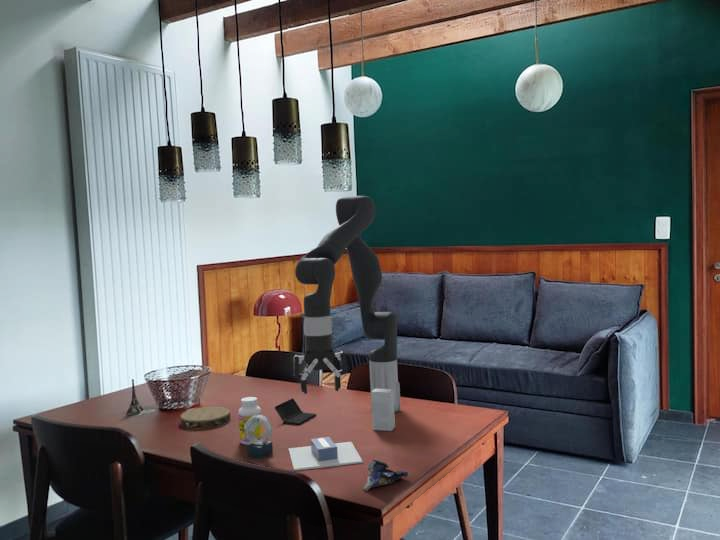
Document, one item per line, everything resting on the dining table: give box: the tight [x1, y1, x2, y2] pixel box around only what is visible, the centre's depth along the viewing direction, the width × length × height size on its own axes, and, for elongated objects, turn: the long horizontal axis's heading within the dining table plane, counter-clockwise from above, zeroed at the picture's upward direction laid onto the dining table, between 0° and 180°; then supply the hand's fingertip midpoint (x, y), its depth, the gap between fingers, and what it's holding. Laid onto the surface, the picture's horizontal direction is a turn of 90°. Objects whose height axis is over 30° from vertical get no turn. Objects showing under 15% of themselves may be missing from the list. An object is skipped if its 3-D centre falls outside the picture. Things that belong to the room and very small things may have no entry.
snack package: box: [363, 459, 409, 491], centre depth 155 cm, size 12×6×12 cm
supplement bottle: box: [237, 396, 263, 446], centre depth 189 cm, size 7×7×13 cm
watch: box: [244, 414, 274, 460], centre depth 177 cm, size 6×8×11 cm
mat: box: [287, 441, 363, 472], centre depth 174 cm, size 18×16×1 cm
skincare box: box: [370, 388, 396, 432], centre depth 195 cm, size 6×4×12 cm
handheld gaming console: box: [274, 398, 317, 426], centre depth 210 cm, size 12×7×10 cm
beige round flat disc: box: [180, 406, 231, 429], centre depth 212 cm, size 16×16×3 cm
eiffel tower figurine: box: [120, 379, 156, 421], centre depth 226 cm, size 15×10×13 cm
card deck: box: [310, 436, 338, 461], centre depth 174 cm, size 9×5×3 cm, turn 17°
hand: (321, 391), depth 173 cm, fingers open, 8 cm apart
